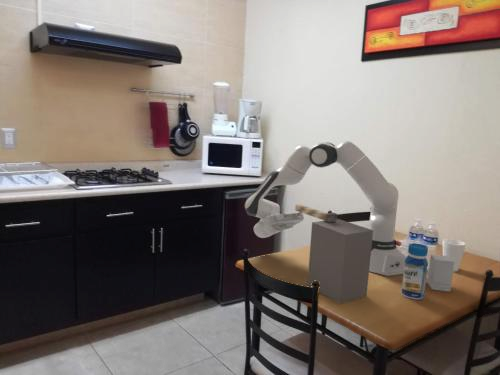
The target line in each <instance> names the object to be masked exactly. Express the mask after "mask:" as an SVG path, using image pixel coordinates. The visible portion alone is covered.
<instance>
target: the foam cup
mask: <svg viewBox="0 0 500 375" xmlns="http://www.w3.org/2000/svg"><path fill="white" fill-rule="evenodd" d="M466 245H467V244H466V242H465V241H462V240H459V239H451V238H443V239H442V245H441V246H442V256H449V257H450V258H451V259H452V260H453V261H454V267H453V272H458V271H459V268H460V266H461V261H462V257H463V255H464V251H465V249H466Z"/></svg>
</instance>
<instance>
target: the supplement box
mask: <svg viewBox="0 0 500 375" xmlns="http://www.w3.org/2000/svg"><path fill="white" fill-rule="evenodd" d="M453 267H454V261H453V260H452V259H451V258H450V257H449V256H443V254H441V255H440V254H430V258H429V263H428V272H427V279H426V280H427V281H426V284H427V285H428V286H429V288H430V289H431V290H433V291H434V290H436V291H444V292H451V289H452V281H453V273H454V271H453Z"/></svg>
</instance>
